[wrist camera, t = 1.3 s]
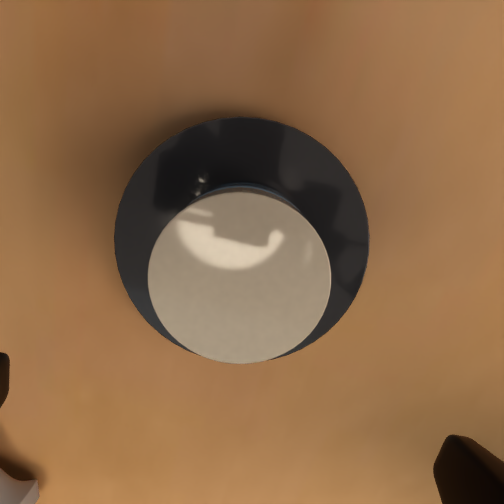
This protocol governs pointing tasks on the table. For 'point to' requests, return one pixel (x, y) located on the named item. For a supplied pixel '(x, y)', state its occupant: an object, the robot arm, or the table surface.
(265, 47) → the table surface
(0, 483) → the pale two-lobed sculpture
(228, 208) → the cream saucer
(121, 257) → the charcoal plate
